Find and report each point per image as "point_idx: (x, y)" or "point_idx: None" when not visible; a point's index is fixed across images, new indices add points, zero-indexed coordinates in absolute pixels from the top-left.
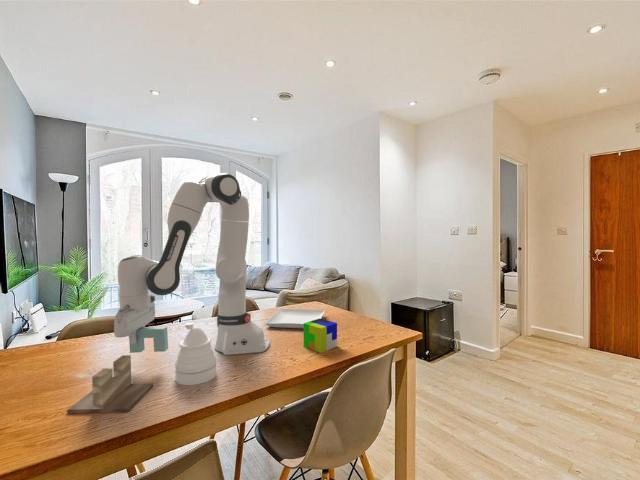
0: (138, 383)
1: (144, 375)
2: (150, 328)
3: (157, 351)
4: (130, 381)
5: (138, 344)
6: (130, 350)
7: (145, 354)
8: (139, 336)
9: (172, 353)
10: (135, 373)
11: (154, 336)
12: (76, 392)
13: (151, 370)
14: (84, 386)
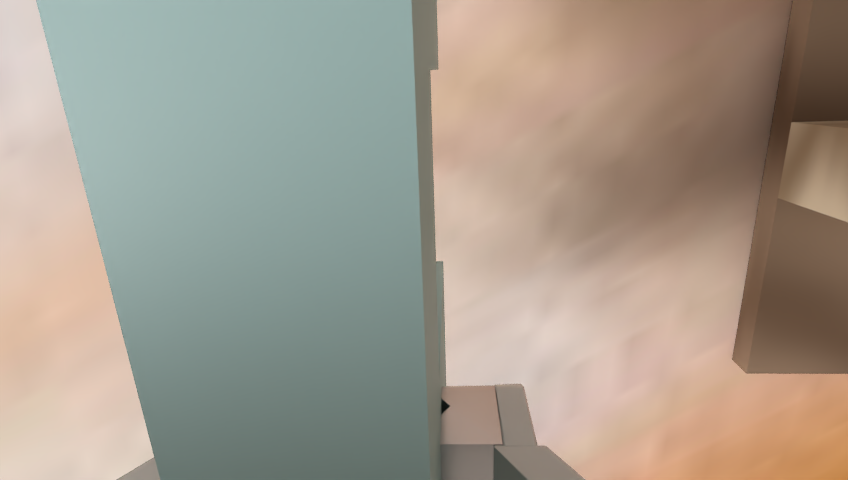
0: (804, 48)
1: (546, 120)
2: (291, 255)
3: (436, 11)
4: (822, 124)
5: (442, 345)
6: None
7: (109, 342)
8: (438, 419)
9: (31, 94)
10: (499, 226)
11: (427, 32)
12: (784, 472)
13: (439, 108)
14: (695, 473)
